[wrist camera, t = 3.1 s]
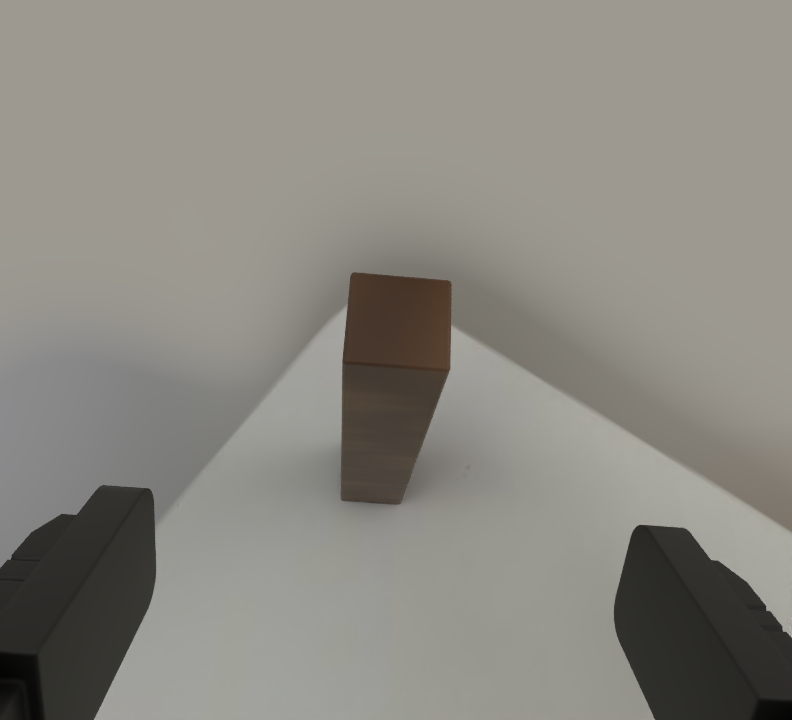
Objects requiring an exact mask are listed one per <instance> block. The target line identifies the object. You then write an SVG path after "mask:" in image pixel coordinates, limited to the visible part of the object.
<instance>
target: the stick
mask: <svg viewBox="0 0 792 720" xmlns="http://www.w3.org/2000/svg"><path fill="white" fill-rule="evenodd" d="M450 345H451V282H450V281H448V280H436V279H425V278H413V277H400V276H389V275H378V274H366V273H352V274H351V277H350V288H349V298H348V309H347V319H346V330H345V341H344V351H343V367H342V441H341V500H343V501H357V502H371V503H386V504H400V503H401V500H402V498H403V495H404V492H405V490H406V487H407V484H408V482H409V479H410V476H411V473H412V471H413V468H414V465H415V463H416V460H417V457H418V455H419V452H420V449H421V446H422V444H423V441H424V438H425V436H426V433H427V430H428V428H429V425H430V422H431V419H432V417H433V414H434V411H435V409H436V406H437V403H438V401H439V398H440V395H441V392H442V390H443V387H444V384H445V382H446V379H447V376H448V374H449V371H450Z"/></svg>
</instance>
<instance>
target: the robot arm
mask: <svg viewBox="0 0 792 720" xmlns="http://www.w3.org/2000/svg"><path fill="white" fill-rule="evenodd" d="M155 578H156V550H155V521H154V499H153V494H152V491H151V490H150V489H148V488H134V487H119V486H106V485H103V486H100V487H99V488H98V489H97V490H96V491H95V493H94V494H93V495H92V496H91V498H90V499H89V500H88V501H87V503H86V504H85V505H84V506H83V508H82V509H81V510H80V512H79V513H78V514H77V515H68V514H61V515H59V516H58V517H56V518H54V519H53V520H51V521H49V522H48V523H46V524H45V525H43V526H41V527H40V528H38V529H36V530H35V531H33V532H31V534H30V535H29V536H28V537H27V538H26V539H25V541H24V542H23V543H22V544H21V545H20V546H19V547H18V548H17V550H16V551H15V552H14V553H13V554H12V558H11V560H7V561H6V562H5V563H4V565H3V566H2V567H1V568H0V720H94V718H95V716H96V714H97V712H98V710H99V708H100V706H101V704H102V702H103V700H104V698H105V696H106V694H107V692H108V689H109V687H110V685H111V683H112V681H113V679H114V677H115V675H116V673H117V671H118V669H119V667H120V665H121V663H122V661H123V659H124V657H125V655H126V653H127V651H128V649H129V646H130V644H131V642H132V640H133V638H134V636H135V634H136V632H137V630H138V628H139V626H140V624H141V622H142V620H143V618H144V616H145V614H146V612H147V609H148V607H149V605H150V602H151V598H152V595H153V590H154V585H155ZM614 622H615V629H616V633H617V637H618V639H619V642H620V644H621V646H622V648H623V651H624V653H625V655H626V657H627V659H628V661H629V664H630V666H631V668H632V670H633V672H634V675H635V677H636V679H637V681H638V683H639V685H640V688H641V690H642V692H643V694H644V696H645V698H646V701H647V703H648V705H649V707H650V709H651V712H652V714H653V716H654V718H655V720H792V638H791V637H790V636H789V634H788V633H787V632H783V630H782V626H781V624H780V623H779V622H778V621H777V619H776V618H775V617H774V616H773V614H772V613H771V612H770V611H766V606H765V604H764V603H763V602H762V601H761V599H760V598H759V597H758V596H757V594H756V593H755V592H754V591H753V589H752V588H751V587H750V586H749V584H748V583H747V582H746V581H744V580H743V579H742V578H740V577H739V576H738V575H736V574H735V573H734V572H732V571H731V570H730V569H728V568H727V567H726V566H724V565H723V564H722V563H720V562H719V561H714V560H710V558H709V557H708V556H707V554H706V553H705V552H704V550H703V549H702V548H701V546H700V545H699V544H698V542H697V541H696V540H695V538H694V537H693V536H692V534H691V533H690V532H689V531H688V530H687V529H685V528H677V527H663V526H649V525H639V526H637V527H636V528H635V529H634V531H633V533H632V535H631V538H630V542H629V546H628V550H627V554H626V558H625V562H624V566H623V570H622V574H621V578H620V582H619V586H618V590H617V594H616V598H615V605H614Z"/></svg>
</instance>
